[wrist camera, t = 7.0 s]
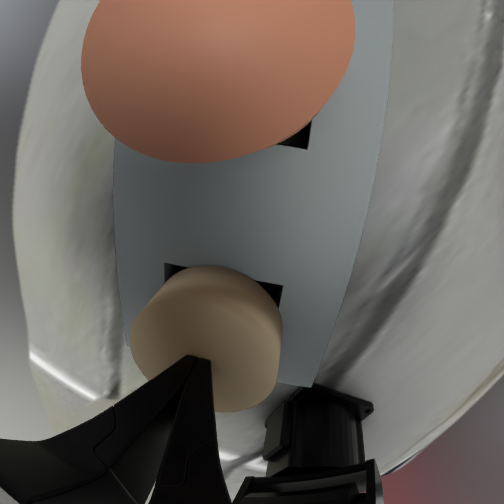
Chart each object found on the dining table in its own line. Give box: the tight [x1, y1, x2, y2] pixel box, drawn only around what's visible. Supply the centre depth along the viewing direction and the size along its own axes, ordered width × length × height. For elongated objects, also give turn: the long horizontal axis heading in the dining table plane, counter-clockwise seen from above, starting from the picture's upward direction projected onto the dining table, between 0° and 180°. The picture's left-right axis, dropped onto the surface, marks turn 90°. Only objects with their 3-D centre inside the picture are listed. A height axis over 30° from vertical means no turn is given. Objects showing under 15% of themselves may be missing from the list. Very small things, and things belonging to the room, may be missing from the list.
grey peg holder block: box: [113, 0, 393, 387], centre depth 10 cm, size 9×24×5 cm, turn 173°
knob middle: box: [81, 0, 355, 164], centre depth 7 cm, size 5×5×7 cm
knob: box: [129, 265, 283, 412], centre depth 12 cm, size 5×5×7 cm
